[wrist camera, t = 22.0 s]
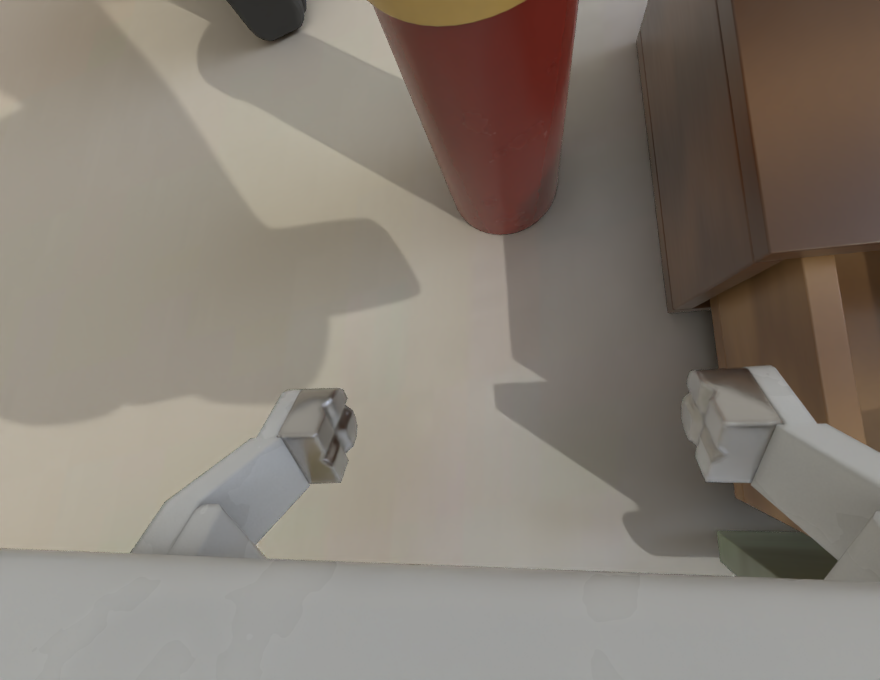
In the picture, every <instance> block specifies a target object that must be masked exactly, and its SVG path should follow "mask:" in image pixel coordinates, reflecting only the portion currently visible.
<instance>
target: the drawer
mask: <svg viewBox="0 0 880 680" xmlns="http://www.w3.org/2000/svg"><path fill="white" fill-rule="evenodd" d="M710 305H711V313H712V321H713V329H714V336H715V344H716V352H717V359H718V367H719V368H736V367H741V368H742V367H749V366H765V365H771V366H773V367H775V368H776V369H777V370H778V372H779V373H780V374H781V376H782V377H783V378H784V380H785V381H786V382H787V384H788V385H789V386H790V388H791V389H792V390H793V392H794V393H795V394H796V396H797V397H798V398H799V400H800V401H801V402H802V404H803V405H804V406H805V408H806V409H807V410H808V412H809V413H810V414H811V416H812V417H813V418H814V420H815V421H816V422H817V424H828V425H830V426H832V427H834V428H835V429H837V430H839V431H841V432H843V433H845V434H846V435H848V436H850V437H852V438H854V439H856V440H858V441H859V442H861V443H863V444H865V445H867V446H869V447H871V448H872V449H874V450H876V451H878V452H880V250H878V251H867V252H857V253H846V254H836V255H825V256H815V257H804V258H794V259H784V260H783V261H781V262H779V263H777V264H775V265H774V266H772V267H770V268H768V269H766V270H764V271H762V272H760V273H758V274H756V275H755V276H753V277H751V278H749V279H747V280H745V281H743V282H741V283H739V284H737V285H736V286H734V287H732V288H730V289H728V290H726V291H724V292H722V293H720V294H719V295H717V296H715V297H713V298H711V299H710ZM734 491H735V497H736V498H737V499H739V500H741V501H743V502H745V503H746V504H748V505H750V506H752V507H754V508H756V509H758V510H760V511H762V512H763V513H765V514H767V515H769V516H771V517H773V518H775V519H777V520H779V521H781V522H783V523H785V524H786V525H788V526H790V527H792V528H794V529H796V530H798V531H800V532H765V531H717V537H718V545H719V553H720V561H721V563H723V564H724V565H725V566H726V567H727V568H728V569H729V570H730V571H731V572H733V573H734V574H735V575H736V576H737V577H763V578H789V579H815V580H824V578H825V577H826V576H827V575H828V573H829V572H830V571H831V569H832V568H833V567H834V565H835V564H836V563H837V561H838V560H837V559H836V558H834V557H833V556H832V555H831V554H830V553H829V552H828V551H826V550H825V549H824V548H823V547H822V546H821V545H819V544H818V543H817V542H816V541H815V540H814V539H813V538H811V537H810V536H809V535H808V534H807V533H806V532H804V531H803V530H802V529H801V528H800V527H799V526H798V525H796V524H795V523H794V522H793V521H792V520H791V519H789V518H788V517H787V516H786V515H785V514H784V513H783V512H781V511H780V510H779V509H778V508H777V507H776V506H774V505H773V504H772V503H771V502H770V501H769V500H768V499H766V498H765V497H764V496H763V495H762V494H761V493H759V492H758V491H757V490H756V489H755V488H754V487H753V486H751V483H734Z"/></svg>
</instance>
